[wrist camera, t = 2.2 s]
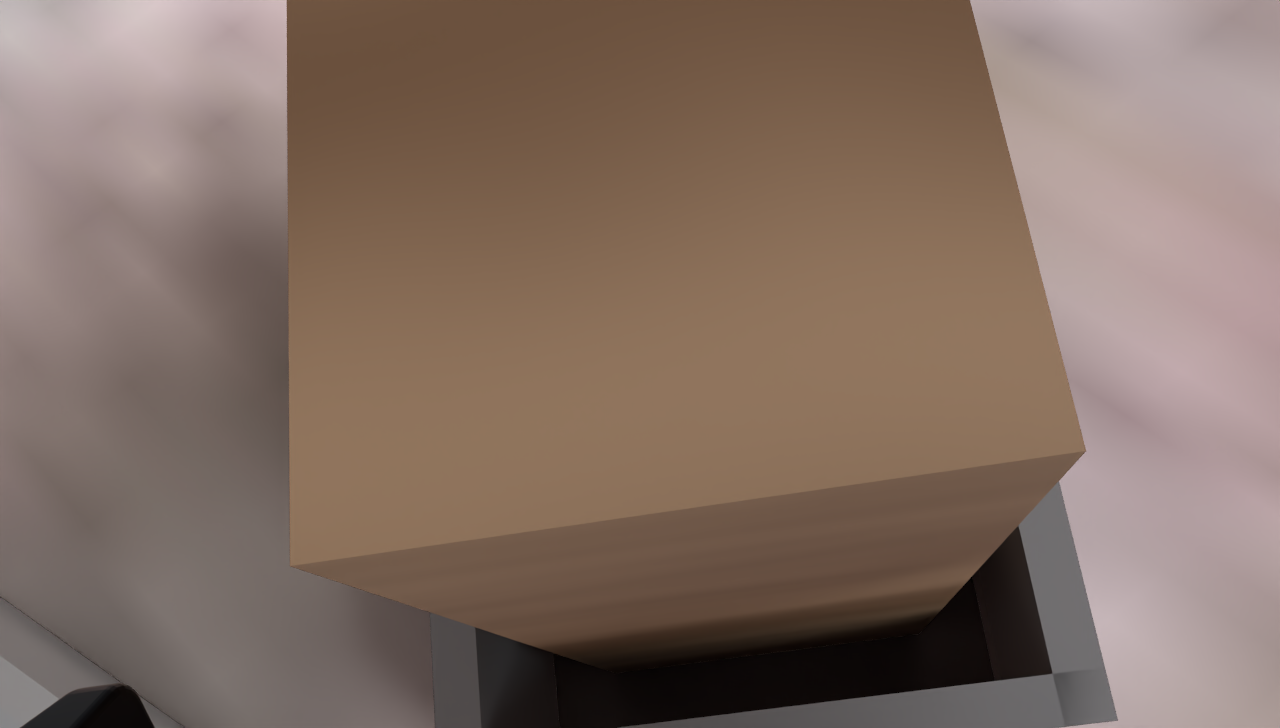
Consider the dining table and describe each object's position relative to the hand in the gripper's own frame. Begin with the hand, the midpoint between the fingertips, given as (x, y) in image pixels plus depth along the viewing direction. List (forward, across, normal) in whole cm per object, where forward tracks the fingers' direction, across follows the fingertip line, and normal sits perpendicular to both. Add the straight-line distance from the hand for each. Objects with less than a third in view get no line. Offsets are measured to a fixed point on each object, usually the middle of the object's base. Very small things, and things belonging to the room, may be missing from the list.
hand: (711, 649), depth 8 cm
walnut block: (+10, 0, +5) cm, 11 cm away
